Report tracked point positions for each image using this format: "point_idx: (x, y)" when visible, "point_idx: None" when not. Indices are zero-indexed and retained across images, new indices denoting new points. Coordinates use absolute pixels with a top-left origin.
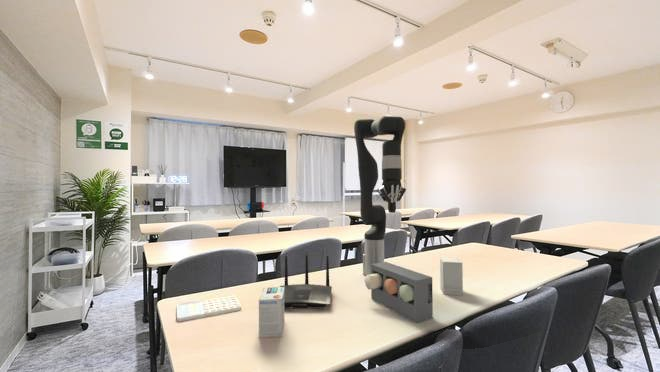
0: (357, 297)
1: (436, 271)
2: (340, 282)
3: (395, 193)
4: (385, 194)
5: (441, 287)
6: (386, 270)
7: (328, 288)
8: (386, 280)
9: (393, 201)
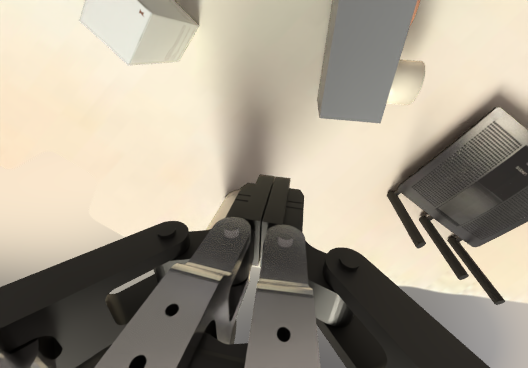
0: (375, 129)
1: (114, 149)
2: (332, 213)
3: (202, 319)
4: (449, 366)
5: (185, 44)
6: (406, 32)
7: (419, 179)
8: (411, 21)
9: (250, 242)
